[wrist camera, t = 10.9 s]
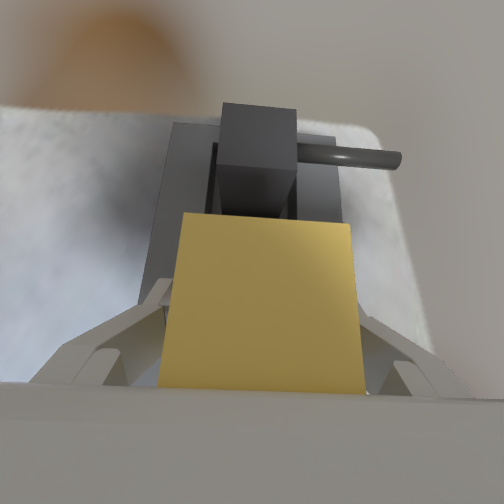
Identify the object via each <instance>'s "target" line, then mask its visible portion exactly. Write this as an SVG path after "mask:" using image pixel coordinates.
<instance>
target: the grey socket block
mask: <svg viewBox="0 0 504 504" xmlns="http://www.w3.org/2000/svg"><path fill="white" fill-rule="evenodd" d="M401 160H402V155H401V153H400V152H395V151H384V150H373V149H361V148H350V147H339V146H336V139H335V137H331V136H320V135H309V134H298V133H297V117H296V109H285V108H275V107H265V106H254V105H244V104H233V103H223V108H222V117H221V126H211V125H200V124H189V123H178V122H173V127H172V132H171V137H170V142H169V148H168V153H167V158H166V163H165V168H164V173H163V178H162V183H161V188H160V193H159V198H158V203H157V208H156V213H155V218H154V223H153V228H152V234H151V239H150V244H149V249H148V254H147V259H146V264H145V269H144V274H143V279H142V284H141V289H140V294H139V299H138V304H137V305H142V304H143V302H144V301H145V299H146V297H147V296H148V294H149V293H150V291H151V290H152V288H153V286H154V285H155V283H156V282H157V280H158V279H159V278H173V279H174V273H175V266H176V260H177V253H178V247H179V240H180V234H181V227H182V221H183V214H184V212H186V213H200V214H215V215H229V216H244V217H258V218H272V219H287V220H301V221H315V222H330V223H343V222H342V210H341V198H340V186H339V175H338V166H347V167H359V168H370V169H382V170H396V169H397V168H398V167H399V165H400V163H401ZM161 357H162V356H161ZM161 357H160V358H159V359H158V360H157V361H156V362H155V363H153V364H152V365H151V366H150V367H149V368H148V369H147V370H146V371H145V372H144V373H143V374H142V375H141V376H140V377H139V378H138V379H137V380H136V381H135V382H134V383H133V384H132V385H131V386H136V387H157V383H158V377H159V370H160V364H161Z"/></svg>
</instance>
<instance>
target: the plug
mask: <svg viewBox="0 0 504 504" xmlns="http://www.w3.org/2000/svg"><path fill="white" fill-rule="evenodd" d="M157 387H164V388H193V389H222V390H250V391H279V392H308V393H335V394H363V395H366V386H365V376H364V365H363V355H362V345H361V334H360V324H359V314H358V304H357V293H356V283H355V273H354V262H353V252H352V242H351V232H350V224H344V223H330V222H315V221H301V220H287V219H272V218H258V217H244V216H229V215H215V214H200V213H186V212H184V214H183V221H182V227H181V234H180V240H179V247H178V253H177V260H176V266H175V273H174V279H173V286H172V292H171V299H170V305H169V312H168V318H167V325H166V331H165V338H164V344H163V351H162V357H161V364H160V370H159V377H158V383H157Z"/></svg>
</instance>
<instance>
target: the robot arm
mask: <svg viewBox="0 0 504 504" xmlns="http://www.w3.org/2000/svg"><path fill="white" fill-rule="evenodd" d="M172 286H173V278H159V279H158V280H157V282H156V283H155V285H154V286H153V288H152V290H151V291H150V293H149V294H148V296H147V297H146V299H145V301H144V302H143V304H142V305H136V306H134V307H132V308H130V309H129V310H127V311H125V312H123V313H121V314H119V315H117V316H115V317H114V318H112V319H110V320H108V321H106V322H104V323H102V324H100V325H99V326H97V327H95V328H93V329H91V330H89V331H87V332H86V333H84V334H82V335H80V336H78V337H76V338H74V339H72V340H71V341H69V342H67V343H65V344H63V345H62V346H61V347H60V348H59V349H58V350H57V351H56V352H55V353H54V355H53V356H52V357H51V358H50V359H49V360H48V361H47V362H46V364H45V365H44V366H43V367H42V368H41V369H40V370H39V371H38V373H37V374H36V375H35V376H34V377H33V378H32V379H31V380H30V381H29V383H22V382H0V504H504V399H476V398H475V397H474V396H473V394H472V393H471V392H470V391H469V390H468V389H467V388H466V387H465V385H464V384H463V383H462V382H461V381H460V379H459V378H458V377H457V376H456V375H455V374H454V373H453V371H452V370H451V369H450V368H449V367H448V366H447V364H446V363H445V362H444V361H442V360H440V359H439V358H437V357H436V356H434V355H433V354H431V353H429V352H428V351H426V350H424V349H423V348H421V347H420V346H418V345H416V344H415V343H413V342H412V341H410V340H408V339H407V338H405V337H403V336H402V335H400V334H399V333H397V332H395V331H394V330H392V329H391V328H389V327H387V326H386V325H384V324H383V323H381V322H379V321H378V320H376V319H374V318H373V317H368V316H367V315H366V314H365V312H364V311H363V309H362V308H361V306H360V305H359V303H358V302H357V304H358V314H359V324H360V334H361V345H362V355H363V365H364V376H365V386H366V390H367V391H368V393H369V394H370V395H363V394H335V393H308V392H279V391H250V390H222V389H193V388H164V387H136V386H131V385H132V384H133V383H134V382H135V381H136V380H137V379H138V378H139V377H140V376H141V375H142V374H143V373H144V372H145V371H146V370H147V369H148V368H149V367H150V366H151V365H152V364H153V363H155V362H156V361H157V360H158V359H159V358H160V357H161V356H162V351H163V344H164V338H165V331H166V325H167V318H168V312H169V305H170V299H171V292H172Z"/></svg>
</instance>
